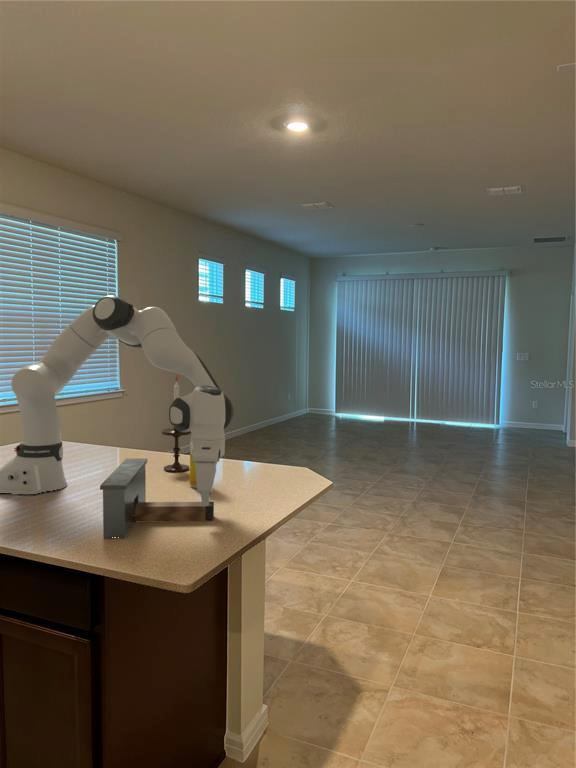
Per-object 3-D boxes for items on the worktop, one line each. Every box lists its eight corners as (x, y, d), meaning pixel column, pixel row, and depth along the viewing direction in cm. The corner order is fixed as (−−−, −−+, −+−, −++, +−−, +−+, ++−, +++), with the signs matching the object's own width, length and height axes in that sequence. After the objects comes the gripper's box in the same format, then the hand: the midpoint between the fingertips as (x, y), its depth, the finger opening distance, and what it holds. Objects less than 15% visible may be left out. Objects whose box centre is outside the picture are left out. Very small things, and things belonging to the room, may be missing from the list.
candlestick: (196, 470, 198) (196, 374, 195) (168, 474, 192) (167, 374, 189) (184, 464, 207) (184, 372, 204) (156, 468, 201) (156, 372, 198)
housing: (100, 539, 129) (100, 485, 128) (126, 502, 158) (126, 458, 157) (126, 539, 130) (126, 485, 129) (147, 502, 159) (147, 458, 158)
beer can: (205, 489, 174) (205, 442, 172) (187, 488, 175) (187, 441, 174) (211, 484, 180) (211, 439, 178) (194, 483, 181) (194, 438, 180)
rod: (135, 521, 142) (135, 506, 142) (138, 516, 146) (138, 502, 146) (212, 521, 144) (213, 506, 144) (213, 516, 148) (213, 501, 148)
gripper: (199, 440, 154) (198, 488, 155) (191, 456, 134) (190, 511, 135) (221, 440, 155) (220, 489, 156) (217, 456, 134) (216, 511, 135)
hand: (206, 499), depth 145 cm, fingers open, 8 cm apart
